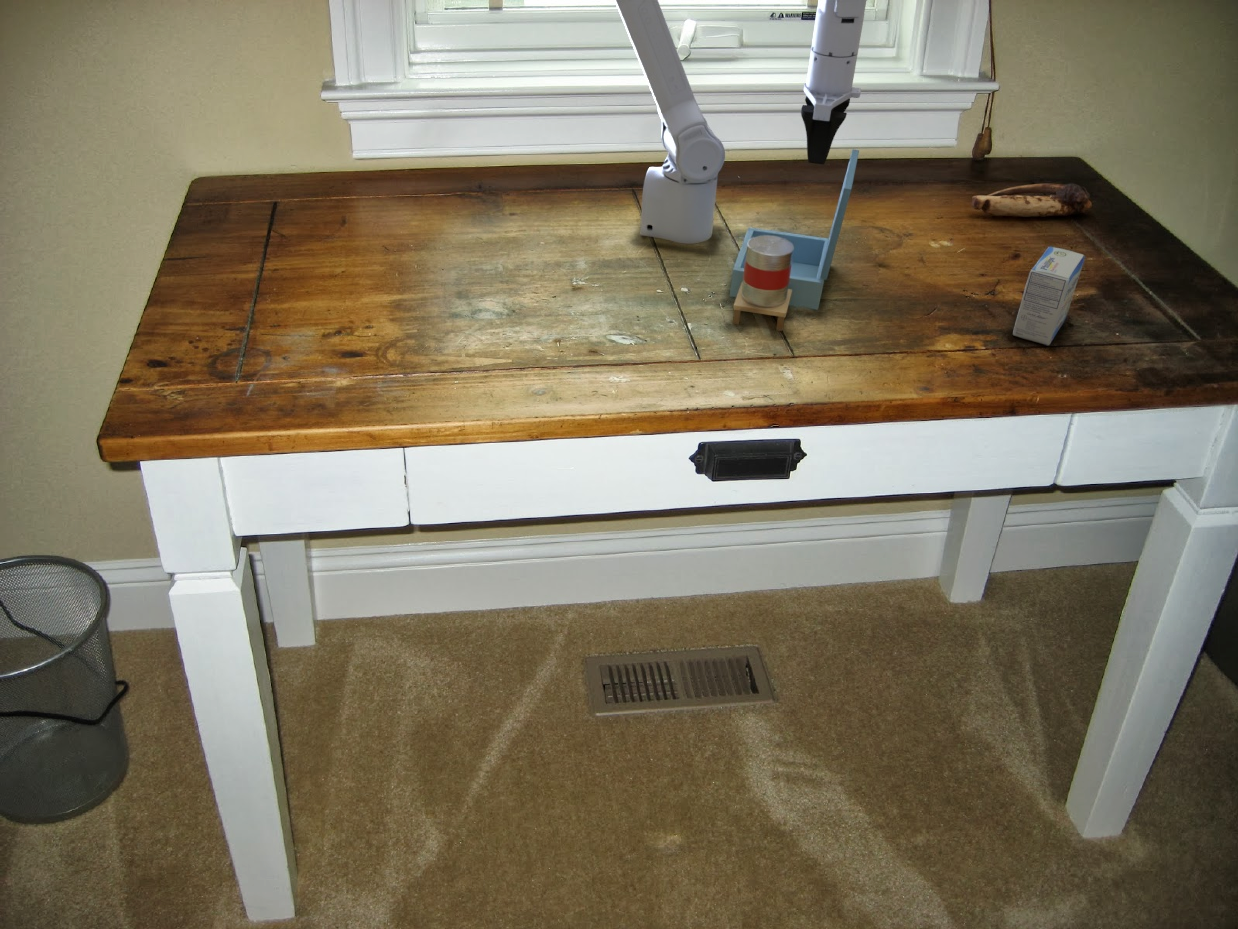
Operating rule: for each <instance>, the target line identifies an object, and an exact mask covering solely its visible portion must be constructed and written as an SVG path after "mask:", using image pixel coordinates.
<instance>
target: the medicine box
mask: <svg viewBox="0 0 1238 929" xmlns="http://www.w3.org/2000/svg"><path fill="white" fill-rule="evenodd" d="M1085 258H1086V256H1085V255H1084V254H1082V253H1079V252H1075V251H1072V250H1068V249H1065V248H1060V247H1054V246H1048V247H1047V248H1046V250H1045V251H1044V253H1043V254H1042V255H1041V256H1040V258H1039V259H1038V260H1037V262H1036V263H1035V265H1033V267H1032V268H1031V269H1030V271H1029V273H1028V276H1027V280H1026V283H1025V287H1024V290H1023V294H1022V298H1021V301H1020V305H1019V309H1018V313H1017V314H1016V315H1017V316H1016V318H1015V323H1014V327H1013V331H1012V336H1014V337H1017V338H1020V339H1023V340H1027V341H1031V342H1034V343H1038V344H1040V345H1044V346H1047V347H1049V346H1050V345H1051V343H1052V342H1053V341H1054V339H1055V337H1056V336H1057V334H1058V332H1059V331H1060V330H1061V328H1062V326H1063V325H1064V322H1065V320H1066V319H1067V317H1068V314H1069V310H1070V307H1071V305H1072V304H1071V303H1072V302H1073V301H1072V300H1073V297H1074V294H1075V291H1076V287H1077V284H1078V281H1079V278H1080V274H1081V272H1082V269H1083V266H1084V262H1085Z"/></svg>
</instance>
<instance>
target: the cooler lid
mask: <svg viewBox="0 0 1238 929" xmlns="http://www.w3.org/2000/svg"><path fill="white" fill-rule="evenodd" d="M859 154H860V150H859V149H855V148H853V149H851V154H850V157H849V160H848V165H847V169H846V172H845V176H844V179H843V184H842V187H841V191H840V194H839V198H838V201H837V206H836V210H835V212H834V218H833V221H832V225H831V228H830V232H829V236H828V239H829V240H828V244H827V249H826V253H825V258H824V262H823V267H822V271H821V275H820V279H824V281H827V280H828V276H829V272H830V269H831V266H832V265H831V264H832V262H833V258H834V255H835V252H836V247H837V244H838V240H839V237H840V232H841V229H842V226H843V222H844V218H845V215H846V210H847V207H848V205H849V204H848V203H849V200H850V197H851V192H852V189H853V183H854V179H855V174H856V170H857V169H856V168H857V163H858V158H859Z"/></svg>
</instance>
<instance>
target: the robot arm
mask: <svg viewBox="0 0 1238 929" xmlns="http://www.w3.org/2000/svg"><path fill="white" fill-rule="evenodd" d="M613 1H614V3H615V5H616V8H617V10H618V13H619V15H620V17H621V21H622V23H623V26H624V28H625V30H626V32H627V35H628V38H629V41H630V43H631V45H632V48H633V50H634V52H635V55H636V58H637V60H638V62H639V65H640V68H641V70H642V72H643V75H644V78H645V80H646V82H647V85H648V88H649V90H650V92H651V95H652V98H653V99H654V102H655V104H656V107H657V113H658V116H659V119H660V121H661V131H660V132H661V134H660V137H661V138H660V140H661V144H662V145H663V148H664V149H665V151H666V152H667V155H666V158H665V160H664V161H663V164H662V166H650V167H649V168H648V169H647V171H646V174H645V177H644V181H643V187H642V196H641V197H642V198H641V211H640V212H641V213H640V227H639V228H640V229H639V235H640V236H645V237H651V238H657V239H663V240H667V241H671V242H674V243H679V244H698V243H703V242H706V241H708V240H709V239H710V238H712V236H713V229H714V218H715V217H714V216H715V208H716V198H717V191H718V190H717V188H718V179H719V178H718V177H719V172H720V171H721V170H722V168H723V166H724V163H725V161H726V150H725V146H724V144H723V142H722V141H721V139H719V138H718V137H717V136H716V135H715V133H714V132H713V130H712V128H710V126H709V124H708V122H707V120H706V118H705V117H704V115H703V112H702V110H701V108H700V106H699V104H698V102H697V100H696V98H695V95H694V92H693V90H692V87H691V84H690V81H689V79H688V76H687V74H686V71H685V69H684V66H683V63H682V60H681V58H680V56H679V53H678V50H677V48H676V45H675V41H674V39H673V37H672V33H671V31H670V29H669V27H668V23H667V21H666V18H665V15H664V13H663V11H662V8H661V5H660V3H659V0H613ZM817 1H818V2H817V7H816V13H815V19H814V26H813V32H812V33H813V34H812V40H811V48H810V54H809V61H808V68H807V76H806V81H805V83H804V85H803V93H804V94H805V97H804V98H805V99H804V102H805V104H802V106H801V108H800V115H801V118H802V122H803V125H804V128H805V134H806V152H807V153H806V156H807V162H808V163H809V164H816V165H823V166H824V165H825V163H826V161H827V159H828V156H829V153H830V150H831V147H832V144H833V141H834V138H835V136H836V135H837V132H838V130H839V129H840V127H841V125H842V124H843V123H844V121H845V120H846V118H847V115H848V114H847V113H848V112H846V110H847V109H848V107H849V106H850V103H851V98H853V99H859V98H860V97H861V92H862V89H861V88H860V87H854V86H853V83H854V77H855V72H856V67H857V61H858V54H859V48H860V44H861V37H862V30H863V25H864V20H865V12H866V5H867V1H868V0H817ZM649 226H652V227H651V228H649Z"/></svg>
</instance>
